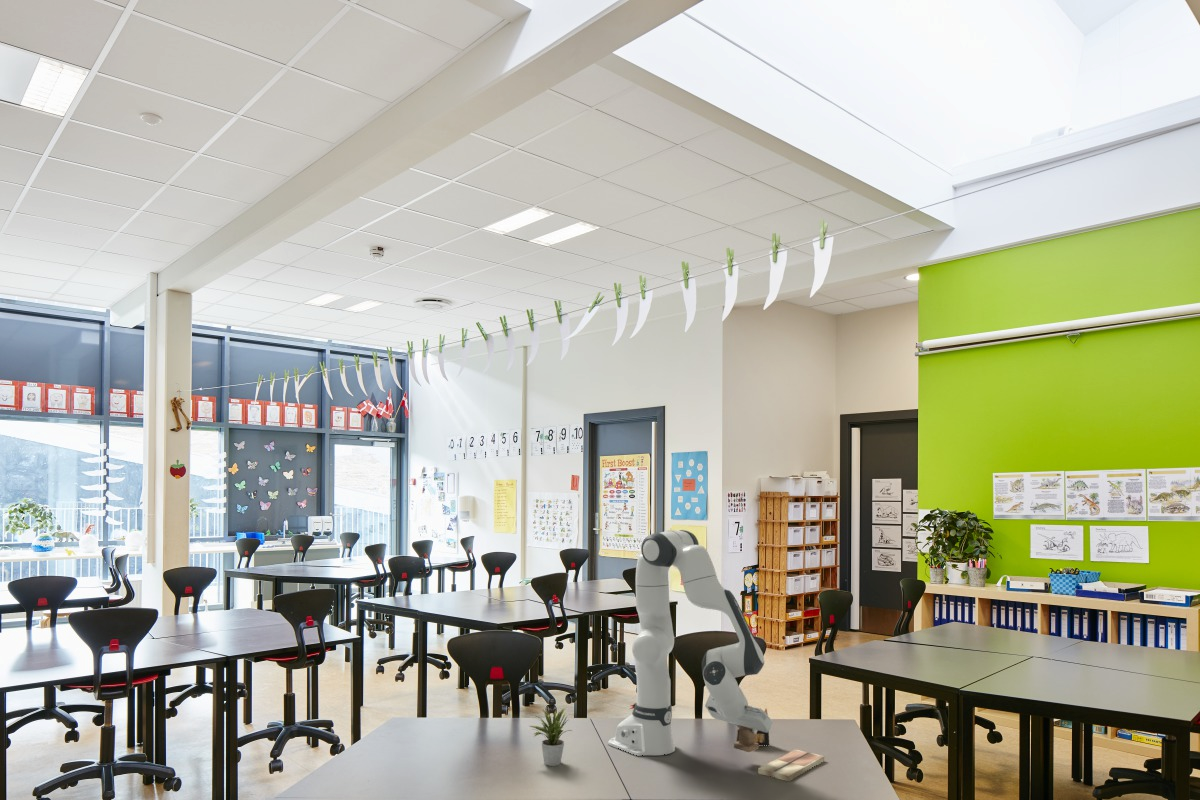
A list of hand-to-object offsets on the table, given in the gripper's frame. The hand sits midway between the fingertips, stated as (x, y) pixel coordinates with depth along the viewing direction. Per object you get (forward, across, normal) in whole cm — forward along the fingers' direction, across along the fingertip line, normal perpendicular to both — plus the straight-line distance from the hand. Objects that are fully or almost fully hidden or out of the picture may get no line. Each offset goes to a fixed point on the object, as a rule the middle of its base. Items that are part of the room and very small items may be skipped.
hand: (747, 729), depth 263 cm
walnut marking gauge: (+3, 0, +4) cm, 5 cm away
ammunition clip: (+20, +8, -5) cm, 22 cm away
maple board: (+12, -12, +2) cm, 17 cm away
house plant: (-19, +46, +37) cm, 62 cm away
